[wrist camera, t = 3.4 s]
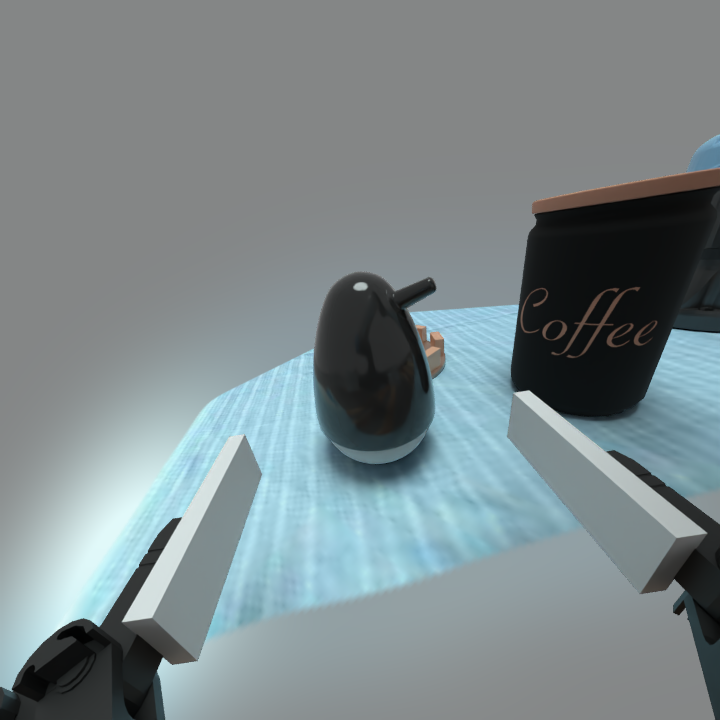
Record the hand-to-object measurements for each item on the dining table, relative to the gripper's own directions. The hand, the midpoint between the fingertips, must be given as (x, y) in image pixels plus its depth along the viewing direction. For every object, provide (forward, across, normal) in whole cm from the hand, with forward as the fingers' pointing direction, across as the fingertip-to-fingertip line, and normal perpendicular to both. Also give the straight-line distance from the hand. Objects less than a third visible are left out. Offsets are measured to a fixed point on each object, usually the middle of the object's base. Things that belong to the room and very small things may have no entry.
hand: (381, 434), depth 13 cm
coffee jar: (+12, +21, -9) cm, 25 cm away
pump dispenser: (+9, 0, -9) cm, 12 cm away
